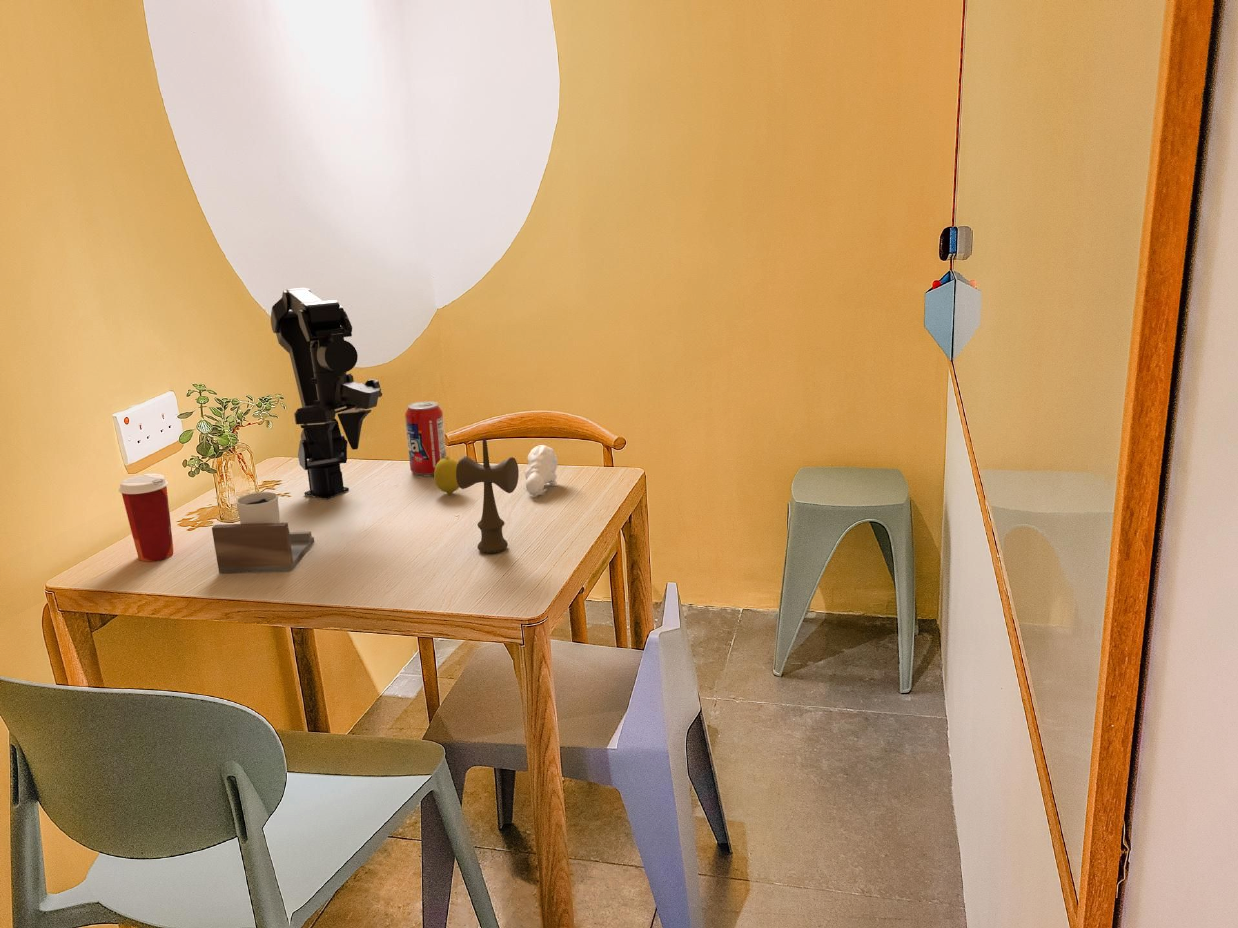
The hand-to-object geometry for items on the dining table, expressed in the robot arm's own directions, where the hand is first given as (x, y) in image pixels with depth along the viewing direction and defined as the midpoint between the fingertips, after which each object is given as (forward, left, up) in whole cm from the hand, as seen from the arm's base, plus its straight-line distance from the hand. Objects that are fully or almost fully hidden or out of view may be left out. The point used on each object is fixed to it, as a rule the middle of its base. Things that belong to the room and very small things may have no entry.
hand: (342, 454), depth 186 cm
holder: (+2, -21, -13) cm, 25 cm away
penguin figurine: (+24, +29, -13) cm, 39 cm away
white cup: (+2, -22, -12) cm, 25 cm away
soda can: (-5, +29, -13) cm, 32 cm away
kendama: (+35, -1, -13) cm, 37 cm away
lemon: (+9, +19, -13) cm, 24 cm away
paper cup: (-17, -29, -13) cm, 36 cm away
